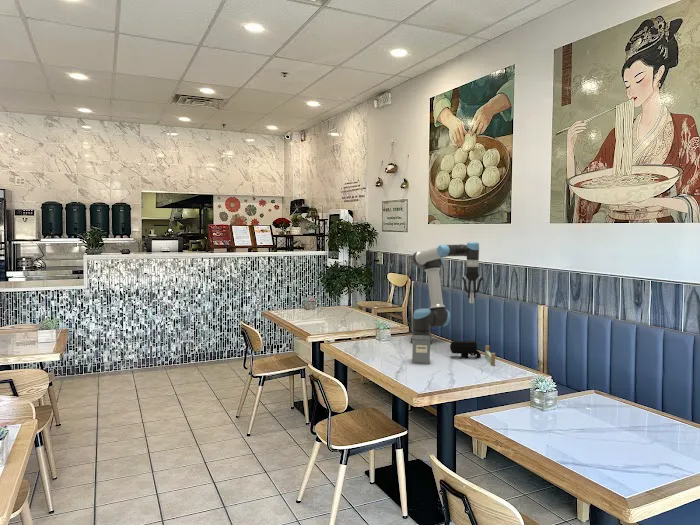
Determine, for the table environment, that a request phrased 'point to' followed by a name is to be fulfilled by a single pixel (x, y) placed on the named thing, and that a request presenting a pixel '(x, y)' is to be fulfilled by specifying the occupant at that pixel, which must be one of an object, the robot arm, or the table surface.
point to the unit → (421, 349)
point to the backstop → (490, 356)
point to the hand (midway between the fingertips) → (471, 303)
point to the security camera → (465, 348)
